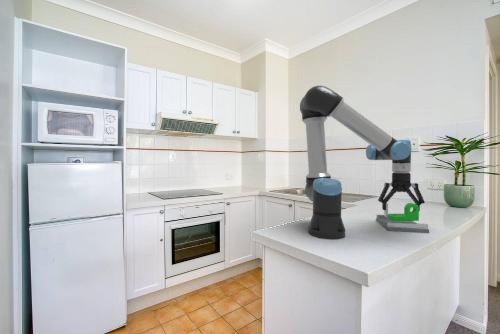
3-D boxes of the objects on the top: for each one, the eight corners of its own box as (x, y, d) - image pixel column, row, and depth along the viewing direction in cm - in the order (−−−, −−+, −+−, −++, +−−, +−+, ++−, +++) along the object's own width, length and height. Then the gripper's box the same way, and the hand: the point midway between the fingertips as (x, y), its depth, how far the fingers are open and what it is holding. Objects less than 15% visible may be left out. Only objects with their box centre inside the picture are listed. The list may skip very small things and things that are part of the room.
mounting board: (388, 230, 106) (388, 227, 106) (375, 220, 123) (375, 217, 123) (429, 233, 103) (429, 229, 103) (409, 222, 120) (409, 219, 120)
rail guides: (388, 227, 107) (388, 222, 106) (376, 218, 123) (376, 214, 123) (428, 229, 103) (428, 224, 103) (410, 219, 119) (410, 216, 119)
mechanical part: (409, 217, 114) (409, 201, 114) (418, 220, 108) (419, 203, 108) (385, 217, 114) (385, 201, 114) (393, 220, 108) (393, 203, 108)
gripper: (376, 172, 111) (375, 218, 112) (434, 173, 106) (433, 220, 107) (371, 171, 118) (370, 214, 119) (425, 172, 114) (424, 216, 114)
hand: (400, 217), depth 113 cm, fingers closed on mechanical part, 12 cm apart
